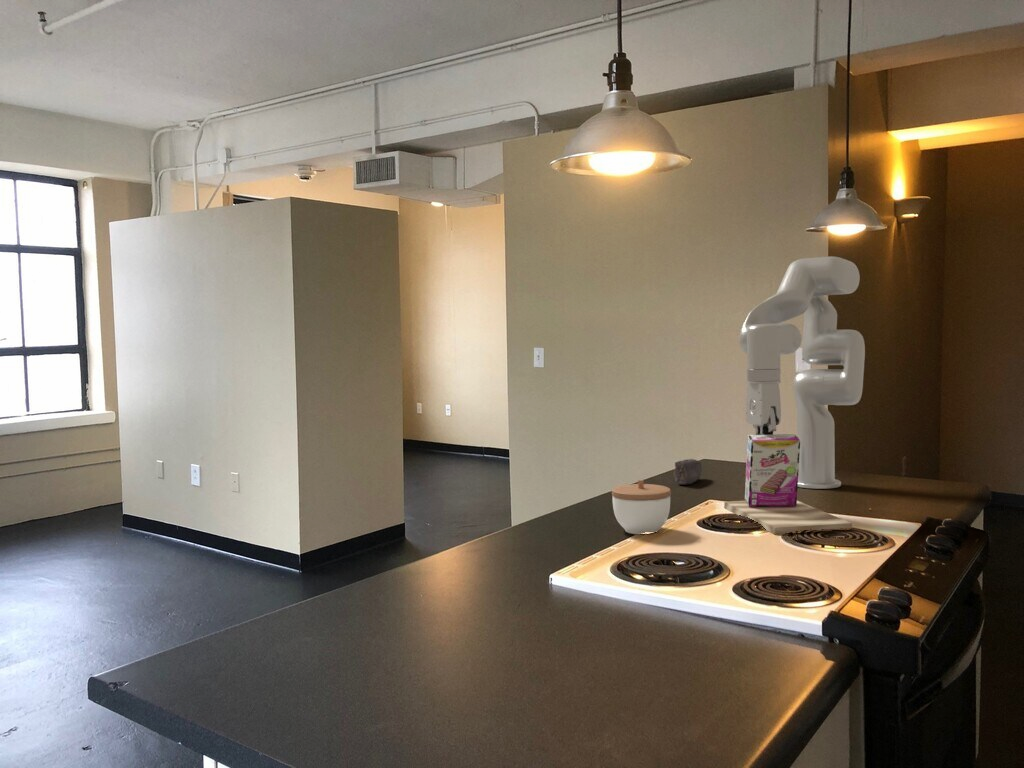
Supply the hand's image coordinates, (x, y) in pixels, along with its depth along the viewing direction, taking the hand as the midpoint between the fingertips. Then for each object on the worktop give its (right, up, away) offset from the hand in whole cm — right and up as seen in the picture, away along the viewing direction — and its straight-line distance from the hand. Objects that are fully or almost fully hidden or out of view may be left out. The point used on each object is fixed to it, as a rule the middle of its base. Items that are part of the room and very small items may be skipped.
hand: (764, 454), depth 195 cm
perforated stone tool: (-9, -12, +40) cm, 42 cm away
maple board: (+2, -14, -9) cm, 16 cm away
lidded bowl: (-32, -15, -17) cm, 39 cm away
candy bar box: (+1, -12, -2) cm, 12 cm away
